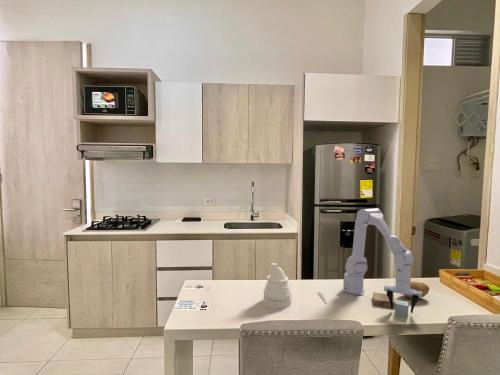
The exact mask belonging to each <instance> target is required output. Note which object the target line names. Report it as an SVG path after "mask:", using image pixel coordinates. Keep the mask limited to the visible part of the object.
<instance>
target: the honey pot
mask: <svg viewBox="0 0 500 375" xmlns="http://www.w3.org/2000/svg"><path fill="white" fill-rule="evenodd" d="M270 264H271V268H272V269H273V270H272V271H271V272H270V274H269V275H267V276H266V280H267V281H266V283H265V286H264V289H263V298H262V299H263V305H264V306H266V307H268V308H270V309H276V310H282V309H287V308H289V307H291V306H292V301H293V300H292V299H293V298H292V297H293V296H292V294H293V293H292V290H291V287H290V284H289V281H288V280H289V277H288V276H287V275H286V273H285V272H284V270H283V269H282V268H281V267H280V266H278V263H276V262H273V263H270Z"/></svg>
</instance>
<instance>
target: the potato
mask: <svg viewBox="0 0 500 375" xmlns="http://www.w3.org/2000/svg"><path fill="white" fill-rule="evenodd" d="M410 289H412V290H416V291H420V292H422V298H423V297H425V296H427V295H428V294H429V291H430V287H429V285H428V284H426V283H424V282H419V281H410ZM401 295H402V296H403V297H405V298H408V299H411V300H412V295H406V294H401ZM419 299H421V298H420V297H419Z"/></svg>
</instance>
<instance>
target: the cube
mask: <svg viewBox="0 0 500 375" xmlns="http://www.w3.org/2000/svg"><path fill="white" fill-rule="evenodd" d="M394 316H398V317H402V318H408V317H409V301H406V300H400V299H395V308H394Z"/></svg>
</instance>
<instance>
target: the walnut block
mask: <svg viewBox="0 0 500 375" xmlns="http://www.w3.org/2000/svg"><path fill="white" fill-rule="evenodd" d="M372 301H373V305H374V306H377V307H378V306H379V307H386V308H391V305H390V301H389V299H388V297H387V294H386V293H382V292H373V293H372ZM395 302H396V299H395V296H394V294H393V308H394V309H395Z"/></svg>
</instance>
